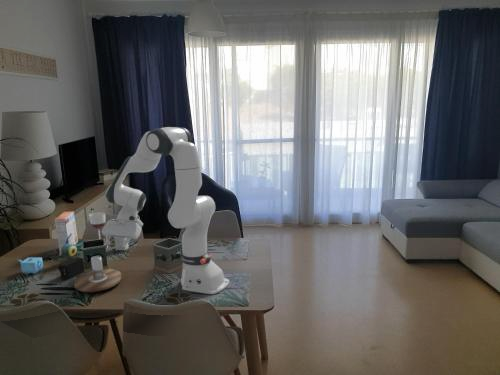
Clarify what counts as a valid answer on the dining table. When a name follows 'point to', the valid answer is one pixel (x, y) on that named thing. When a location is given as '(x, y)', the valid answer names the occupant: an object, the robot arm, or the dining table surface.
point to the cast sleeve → (97, 267)
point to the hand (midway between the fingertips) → (114, 245)
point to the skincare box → (118, 244)
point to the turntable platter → (97, 281)
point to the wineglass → (97, 220)
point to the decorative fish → (70, 249)
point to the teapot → (31, 265)
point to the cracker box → (66, 229)
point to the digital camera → (71, 268)
